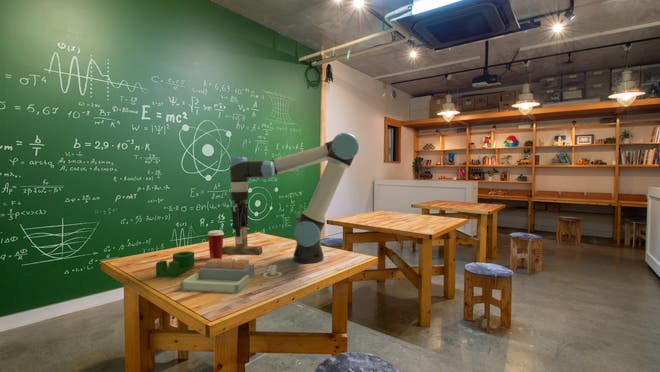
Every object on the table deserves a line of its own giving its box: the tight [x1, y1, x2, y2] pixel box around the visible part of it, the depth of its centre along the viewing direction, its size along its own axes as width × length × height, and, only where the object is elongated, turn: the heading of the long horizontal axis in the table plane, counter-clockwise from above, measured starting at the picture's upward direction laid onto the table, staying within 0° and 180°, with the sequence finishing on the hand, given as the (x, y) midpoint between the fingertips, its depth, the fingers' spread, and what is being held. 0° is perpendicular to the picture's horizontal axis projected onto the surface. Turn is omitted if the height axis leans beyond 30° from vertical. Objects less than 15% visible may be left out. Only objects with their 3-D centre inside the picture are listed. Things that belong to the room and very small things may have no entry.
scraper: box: [221, 227, 263, 256], centre depth 147 cm, size 18×4×12 cm, turn 81°
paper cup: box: [206, 229, 225, 260], centre depth 161 cm, size 8×8×14 cm
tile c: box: [205, 258, 223, 268], centre depth 135 cm, size 4×4×2 cm
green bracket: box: [155, 250, 195, 278], centre depth 143 cm, size 18×9×6 cm, turn 175°
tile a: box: [234, 259, 250, 269], centre depth 133 cm, size 4×4×2 cm
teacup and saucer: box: [262, 264, 283, 279], centre depth 138 cm, size 9×8×4 cm
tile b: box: [220, 258, 236, 268], centre depth 134 cm, size 4×4×2 cm
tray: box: [179, 272, 250, 294], centre depth 124 cm, size 22×11×3 cm, turn 82°
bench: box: [198, 263, 255, 281], centre depth 134 cm, size 20×9×4 cm, turn 83°
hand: (241, 242), depth 147 cm, fingers closed on scraper, 4 cm apart
